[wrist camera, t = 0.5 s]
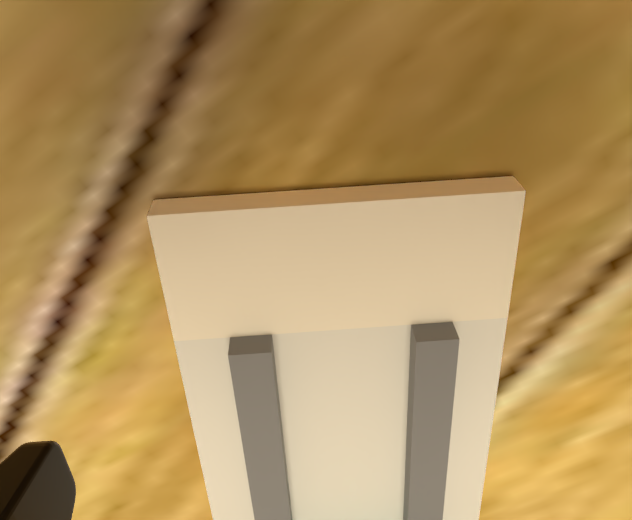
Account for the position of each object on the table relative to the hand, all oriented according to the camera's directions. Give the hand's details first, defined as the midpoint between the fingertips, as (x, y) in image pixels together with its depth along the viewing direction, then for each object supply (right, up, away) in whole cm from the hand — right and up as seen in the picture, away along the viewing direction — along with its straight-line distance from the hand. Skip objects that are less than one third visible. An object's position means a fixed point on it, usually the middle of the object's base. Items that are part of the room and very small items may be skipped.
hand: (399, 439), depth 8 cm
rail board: (0, -3, +17) cm, 17 cm away
